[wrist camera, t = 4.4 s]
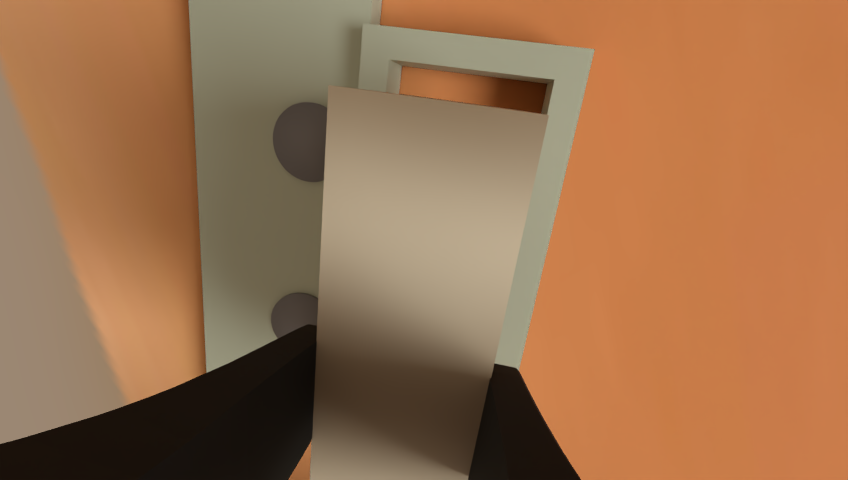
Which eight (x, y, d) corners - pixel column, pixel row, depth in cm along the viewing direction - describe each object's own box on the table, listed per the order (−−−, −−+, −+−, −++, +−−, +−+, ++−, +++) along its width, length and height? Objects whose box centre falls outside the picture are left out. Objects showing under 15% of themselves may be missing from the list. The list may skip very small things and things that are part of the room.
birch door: (459, 434, 16) (438, 617, 10) (371, 414, 16) (305, 578, 11) (523, 111, 12) (548, 115, 6) (406, 94, 12) (328, 85, 7)
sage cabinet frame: (491, 454, 20) (490, 489, 18) (222, 391, 22) (197, 417, 20) (594, 2, 14) (609, -15, 12) (208, -36, 16) (169, -56, 14)
